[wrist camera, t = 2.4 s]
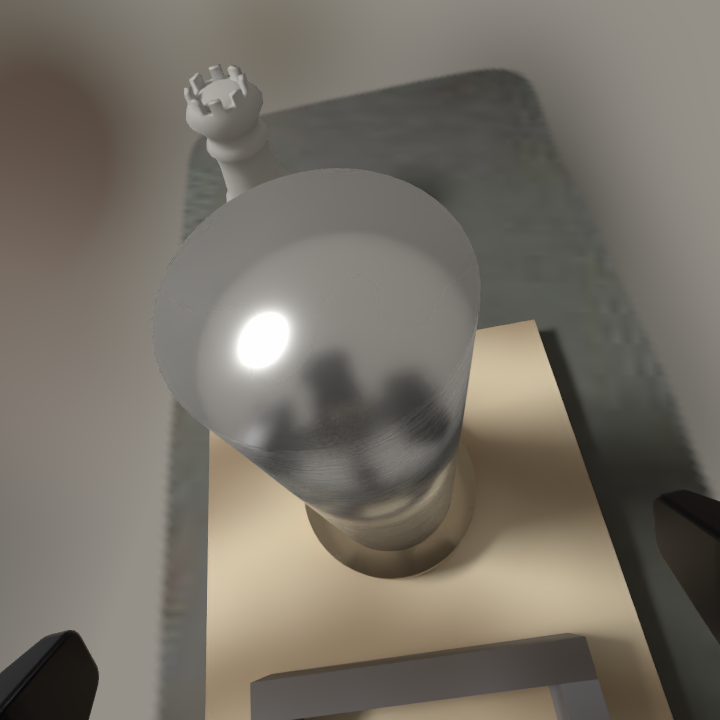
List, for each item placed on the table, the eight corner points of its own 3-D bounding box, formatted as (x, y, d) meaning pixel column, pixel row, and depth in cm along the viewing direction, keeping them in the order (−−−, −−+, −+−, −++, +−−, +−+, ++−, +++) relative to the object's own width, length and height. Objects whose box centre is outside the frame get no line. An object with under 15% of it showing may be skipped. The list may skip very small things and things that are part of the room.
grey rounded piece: (493, 566, 16) (627, 474, 5) (318, 592, 17) (62, 565, 5) (454, 402, 19) (481, 97, 8) (305, 428, 20) (118, 175, 8)
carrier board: (863, 1317, 10) (1016, 1570, 7) (214, 1346, 11) (143, 1584, 8) (530, 331, 21) (543, 292, 19) (219, 387, 22) (190, 357, 19)
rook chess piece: (332, 221, 26) (293, 75, 19) (267, 274, 25) (199, 141, 18) (281, 182, 27) (227, 35, 20) (218, 229, 26) (139, 93, 19)
